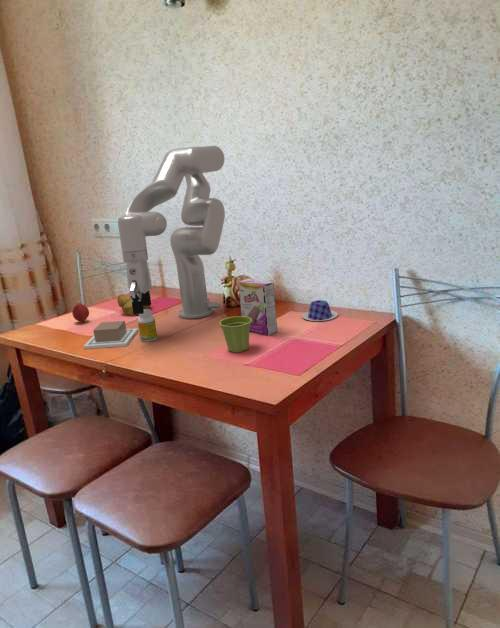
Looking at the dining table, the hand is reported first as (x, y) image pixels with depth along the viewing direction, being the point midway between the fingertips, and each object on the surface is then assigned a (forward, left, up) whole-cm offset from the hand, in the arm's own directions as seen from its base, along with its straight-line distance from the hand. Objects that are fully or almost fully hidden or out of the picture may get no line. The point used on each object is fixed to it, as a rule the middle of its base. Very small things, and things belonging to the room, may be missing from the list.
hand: (142, 309), depth 161 cm
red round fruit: (+31, -25, -11) cm, 41 cm away
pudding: (-56, -11, -11) cm, 59 cm away
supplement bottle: (0, -1, -11) cm, 11 cm away
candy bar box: (-36, -1, -11) cm, 38 cm away
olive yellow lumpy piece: (+12, -33, -11) cm, 37 cm away
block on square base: (+13, -3, -10) cm, 17 cm away
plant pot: (-30, +13, -11) cm, 35 cm away
